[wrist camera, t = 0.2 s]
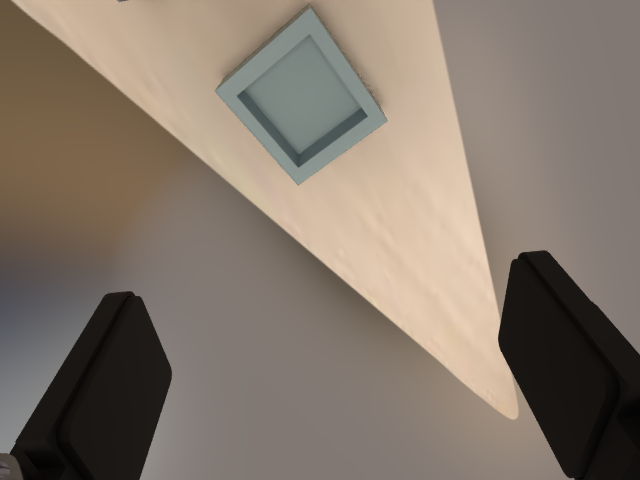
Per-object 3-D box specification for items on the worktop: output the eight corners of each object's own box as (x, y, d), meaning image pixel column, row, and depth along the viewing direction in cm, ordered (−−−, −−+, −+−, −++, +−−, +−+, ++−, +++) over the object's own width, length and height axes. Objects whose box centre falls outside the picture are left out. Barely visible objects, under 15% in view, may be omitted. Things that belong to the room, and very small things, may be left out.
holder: (222, 79, 42) (214, 91, 39) (309, 3, 39) (310, 7, 35) (298, 167, 48) (297, 185, 44) (380, 107, 44) (387, 120, 41)
